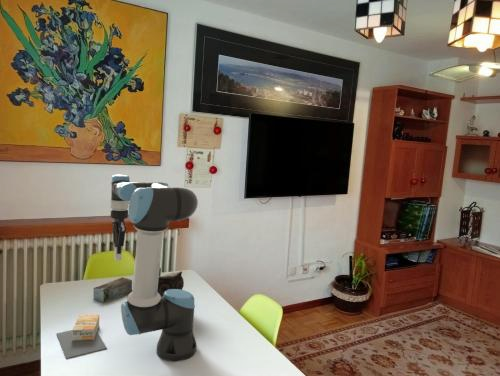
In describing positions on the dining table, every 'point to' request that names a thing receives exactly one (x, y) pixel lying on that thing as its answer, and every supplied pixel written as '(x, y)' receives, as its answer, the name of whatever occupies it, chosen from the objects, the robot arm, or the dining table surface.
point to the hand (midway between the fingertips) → (117, 259)
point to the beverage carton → (112, 289)
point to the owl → (170, 282)
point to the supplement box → (85, 327)
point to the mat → (79, 345)
